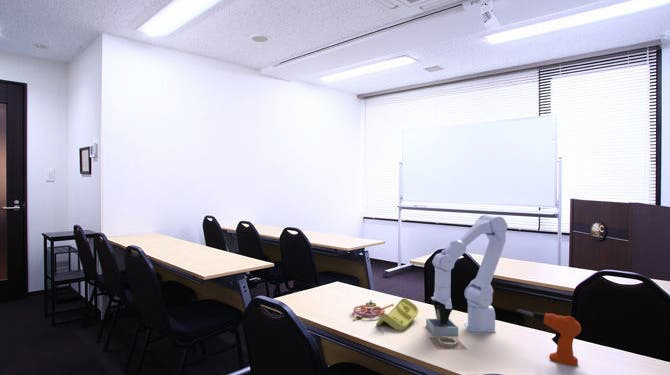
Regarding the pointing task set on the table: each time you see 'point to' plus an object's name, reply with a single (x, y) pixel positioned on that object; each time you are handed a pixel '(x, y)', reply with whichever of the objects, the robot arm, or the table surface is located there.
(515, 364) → the table surface
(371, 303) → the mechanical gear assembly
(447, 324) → the cylinder with rectangular bar
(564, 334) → the toy drill
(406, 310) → the plastic component
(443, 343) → the socket plate
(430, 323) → the bin
